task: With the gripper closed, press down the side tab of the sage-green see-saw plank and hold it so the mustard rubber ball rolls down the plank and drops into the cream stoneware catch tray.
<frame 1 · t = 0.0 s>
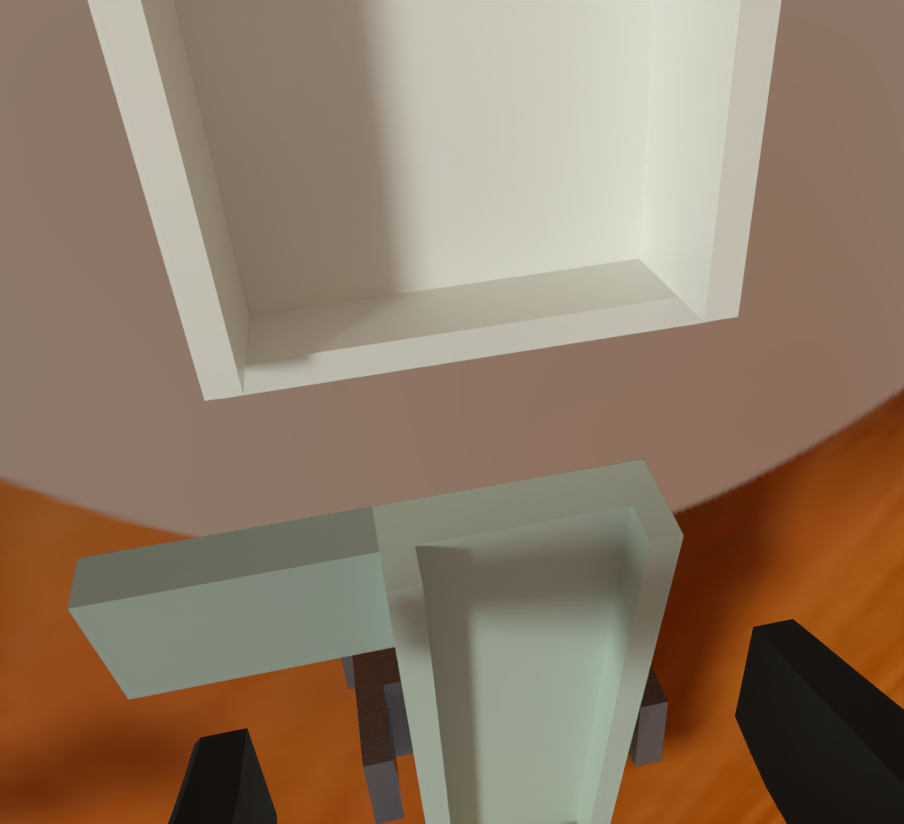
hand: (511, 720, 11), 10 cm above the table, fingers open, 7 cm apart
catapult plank: (419, 786, 19), point 6 cm above the table, hinge at -10.0°, touching ball
fulcrum: (472, 592, 24), on the table
catch tray: (425, 42, 16), on the table
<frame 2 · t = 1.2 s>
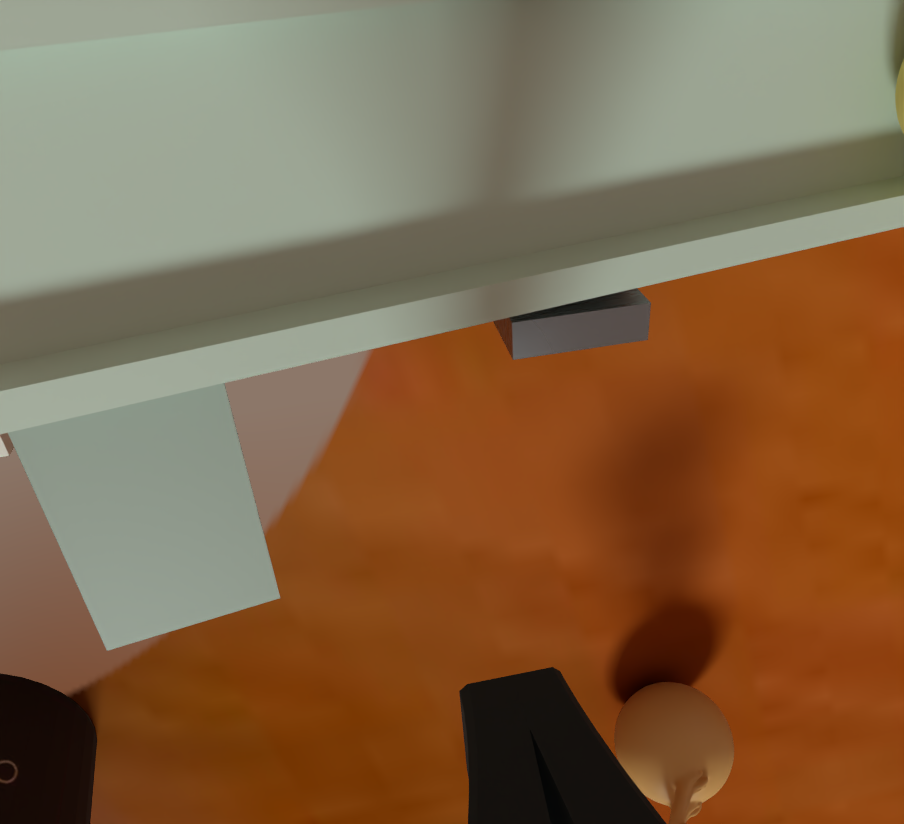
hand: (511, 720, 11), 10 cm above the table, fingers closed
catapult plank: (589, 282, 13), point 6 cm above the table, hinge at -10.0°, touching ball
fulcrum: (497, 62, 16), on the table
figurine: (622, 695, 29), on the table
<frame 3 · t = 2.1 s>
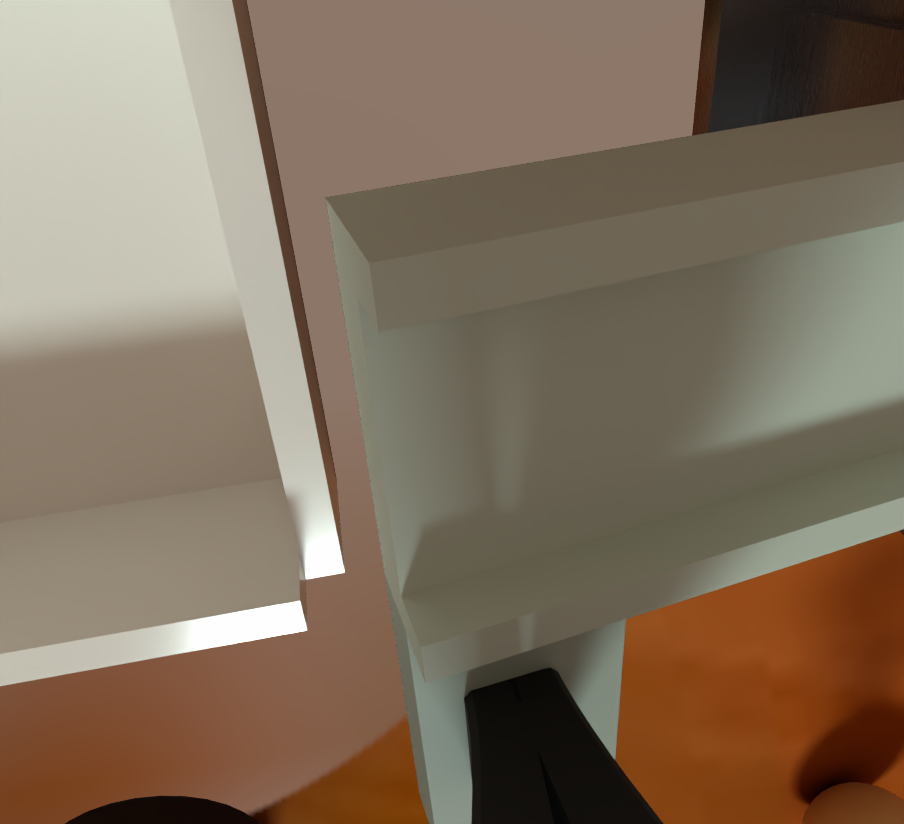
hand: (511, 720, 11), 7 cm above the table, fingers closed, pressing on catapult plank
fulcrum: (814, 175, 15), on the table
figurine: (801, 792, 27), on the table
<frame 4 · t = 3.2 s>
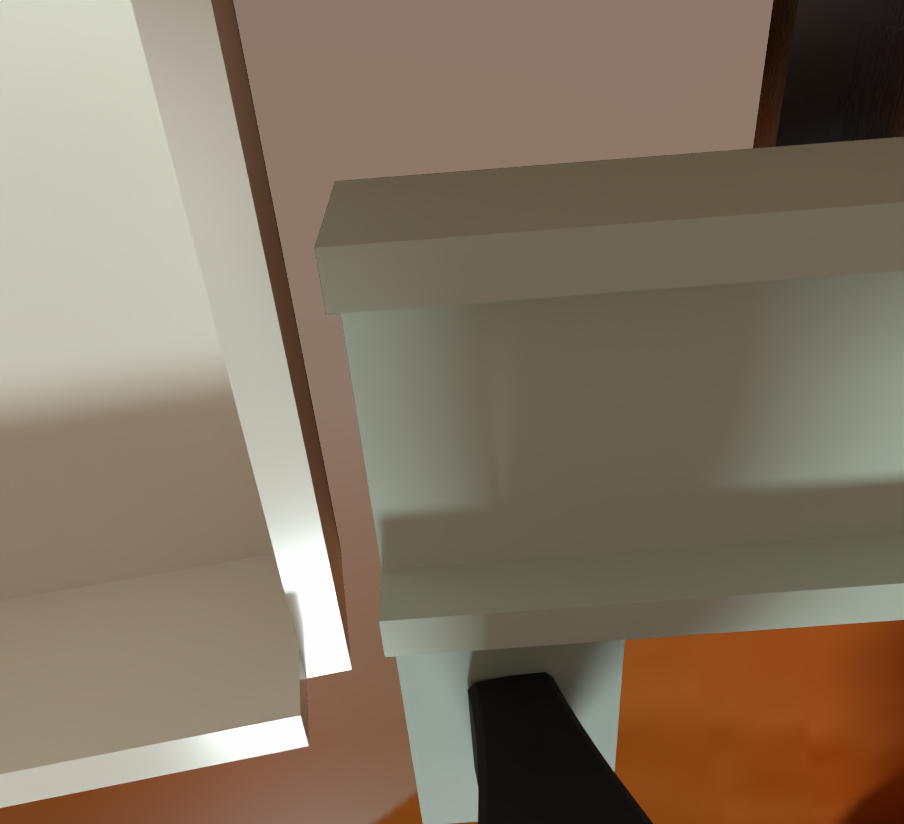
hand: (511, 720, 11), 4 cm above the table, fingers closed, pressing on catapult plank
fulcrum: (884, 212, 13), on the table
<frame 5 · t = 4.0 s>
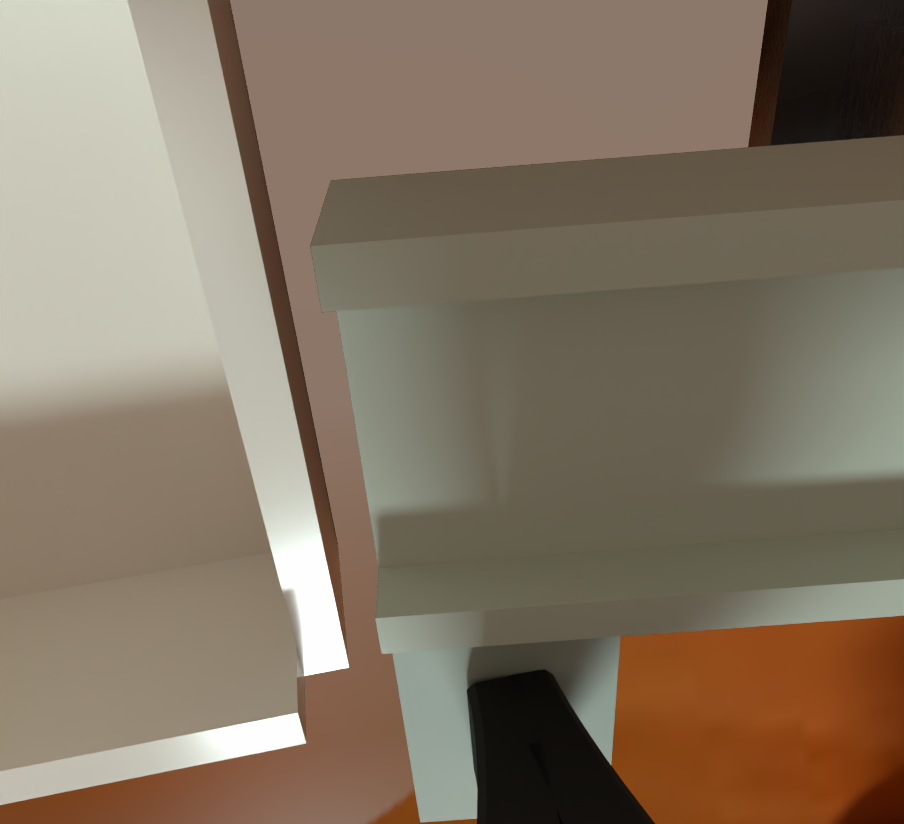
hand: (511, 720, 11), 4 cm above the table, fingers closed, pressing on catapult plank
fulcrum: (879, 211, 13), on the table
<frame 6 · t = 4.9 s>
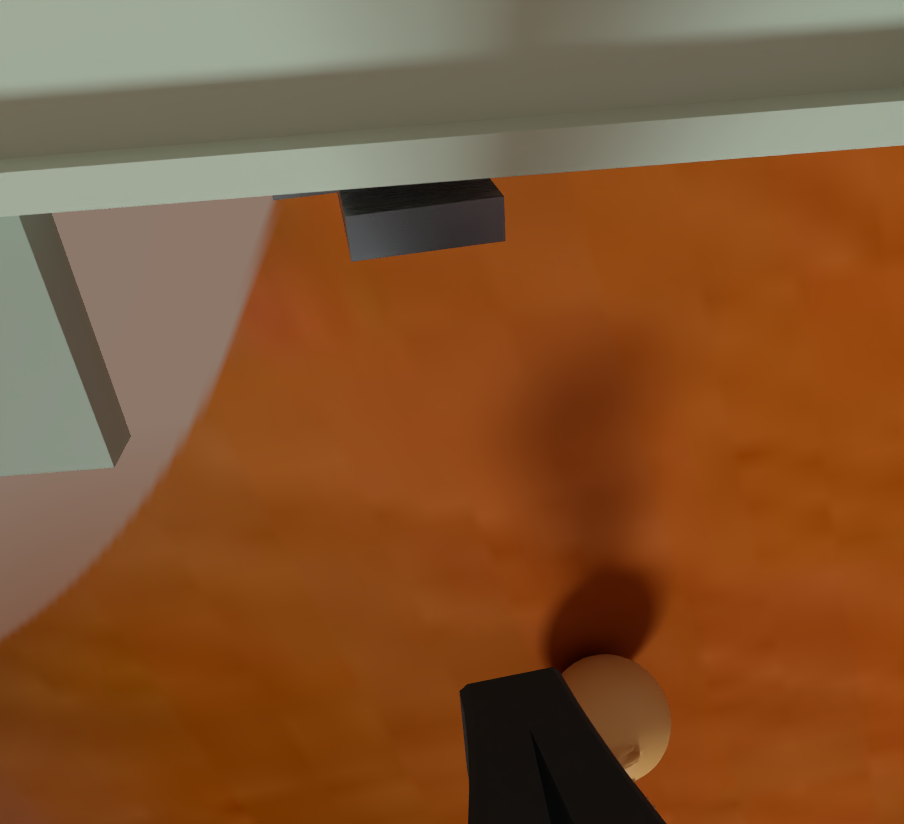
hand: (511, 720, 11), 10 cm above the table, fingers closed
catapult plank: (414, 172, 11), point 6 cm above the table, hinge at 8.4°
figurine: (558, 669, 28), on the table
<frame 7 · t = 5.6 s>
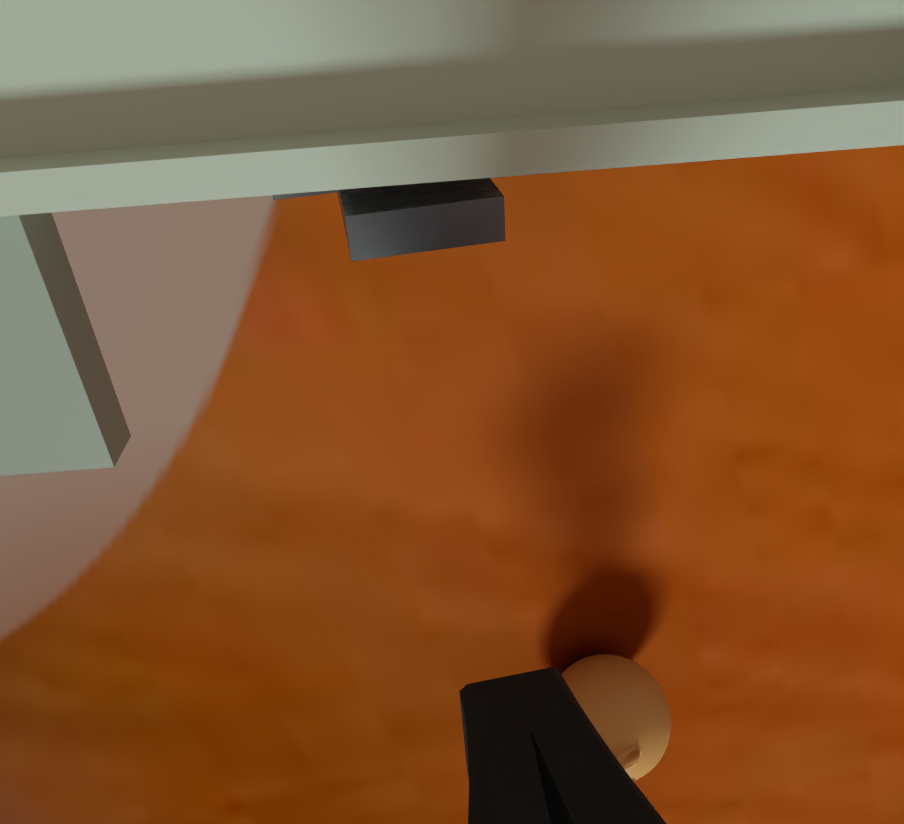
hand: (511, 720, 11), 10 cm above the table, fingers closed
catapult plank: (414, 172, 11), point 6 cm above the table, hinge at 8.4°
figurine: (558, 669, 28), on the table
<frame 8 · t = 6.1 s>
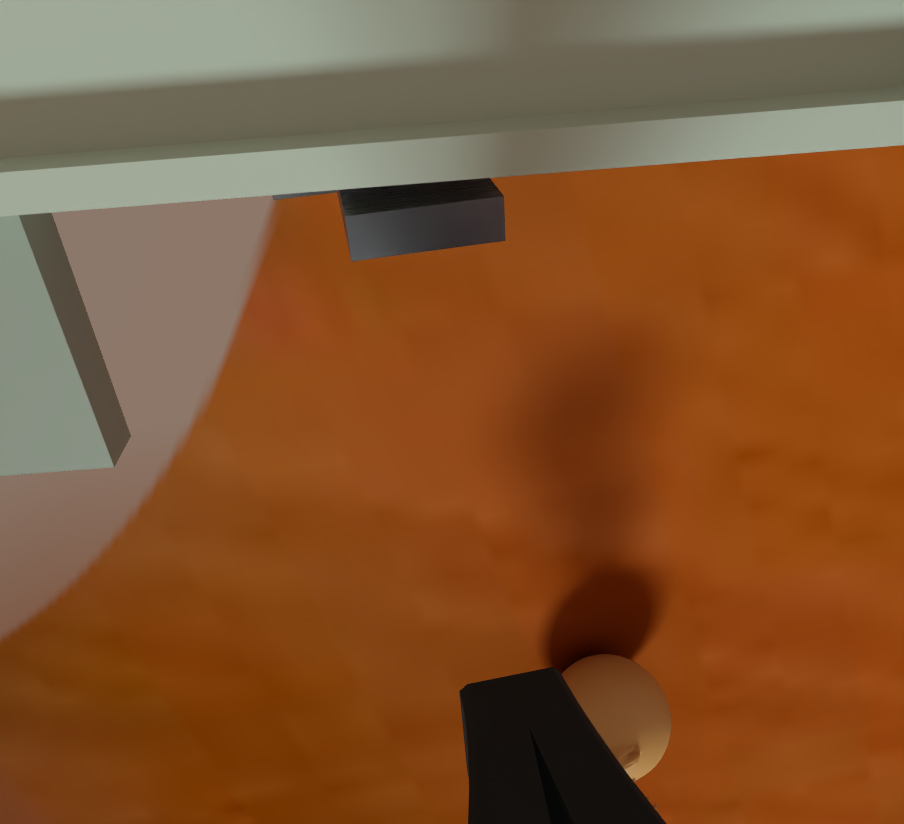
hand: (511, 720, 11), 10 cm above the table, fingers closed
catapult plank: (414, 172, 11), point 6 cm above the table, hinge at 8.4°
figurine: (558, 669, 28), on the table
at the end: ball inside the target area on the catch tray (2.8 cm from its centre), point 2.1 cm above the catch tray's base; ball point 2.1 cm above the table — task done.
